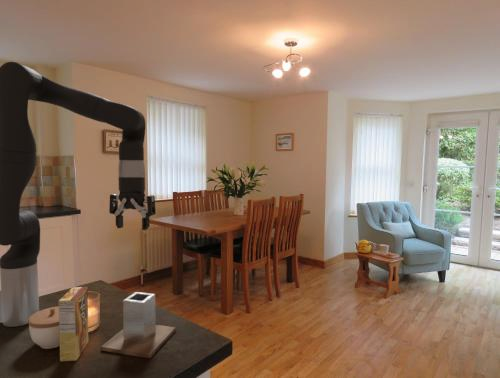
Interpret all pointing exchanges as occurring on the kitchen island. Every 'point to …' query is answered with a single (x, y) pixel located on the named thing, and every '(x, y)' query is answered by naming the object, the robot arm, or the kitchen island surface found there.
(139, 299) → the steel sleeve
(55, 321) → the lidded jar
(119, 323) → the kitchen island surface
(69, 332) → the candy box
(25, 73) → the robot arm
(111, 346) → the hub plate
